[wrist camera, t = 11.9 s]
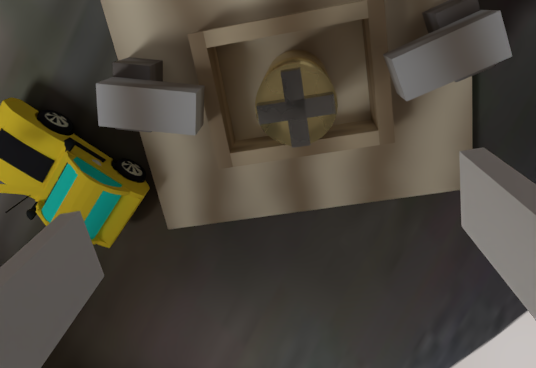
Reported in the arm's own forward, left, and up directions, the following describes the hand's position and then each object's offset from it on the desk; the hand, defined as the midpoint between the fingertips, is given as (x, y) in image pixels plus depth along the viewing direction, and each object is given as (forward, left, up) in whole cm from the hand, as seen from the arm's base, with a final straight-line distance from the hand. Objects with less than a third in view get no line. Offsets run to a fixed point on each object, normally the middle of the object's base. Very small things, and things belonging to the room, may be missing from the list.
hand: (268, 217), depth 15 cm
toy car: (-17, -2, -19) cm, 26 cm away
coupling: (+1, +2, -18) cm, 18 cm away
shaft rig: (+1, +2, -19) cm, 19 cm away
